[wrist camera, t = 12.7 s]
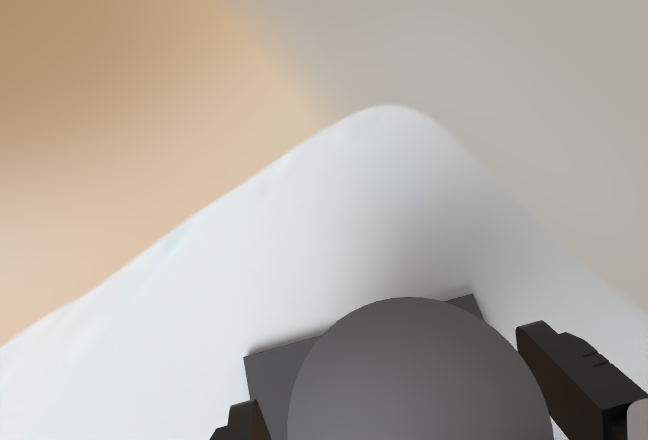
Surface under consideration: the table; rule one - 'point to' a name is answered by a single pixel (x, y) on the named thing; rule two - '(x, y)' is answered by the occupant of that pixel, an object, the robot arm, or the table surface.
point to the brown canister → (415, 379)
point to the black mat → (295, 374)
